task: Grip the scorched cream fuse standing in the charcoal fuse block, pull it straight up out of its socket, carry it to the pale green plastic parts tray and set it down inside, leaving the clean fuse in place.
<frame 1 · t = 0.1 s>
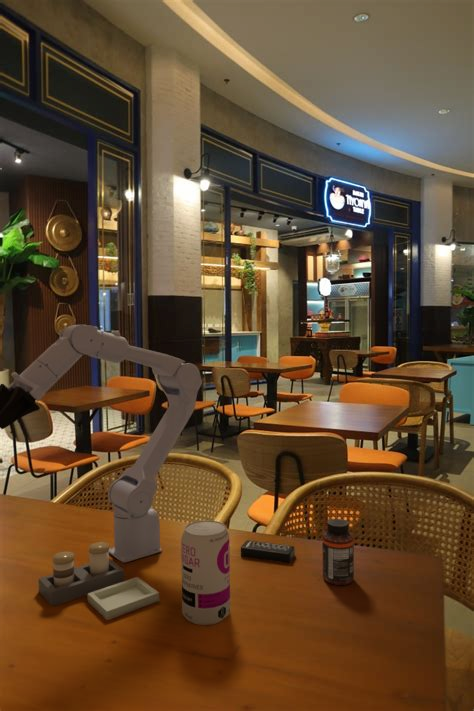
multiport hub: (267, 558, 115), on the table
supplement bottle: (338, 580, 103), on the table
fuse block: (82, 586, 101), on the table
supplement can: (206, 615, 91), on the table
parts tray: (123, 601, 96), on the table
blown fuse: (64, 592, 99), resting in fuse block
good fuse: (99, 581, 104), resting in fuse block
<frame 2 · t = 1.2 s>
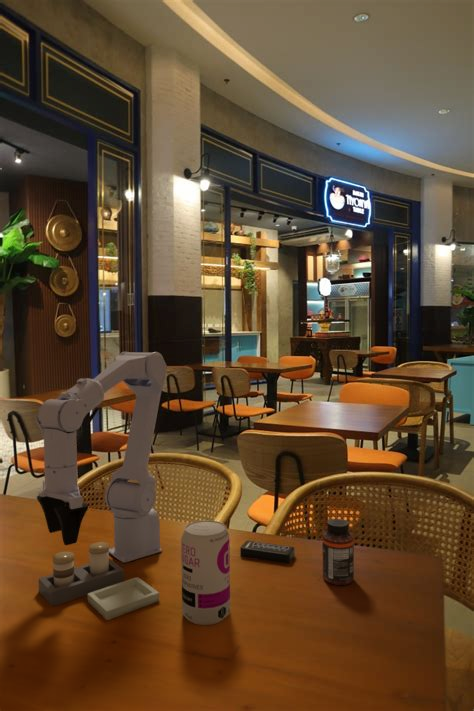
hand: (62, 537, 99), 10 cm above the table, tool pointing down, fingers open, 7 cm apart
nothing on the table moved.
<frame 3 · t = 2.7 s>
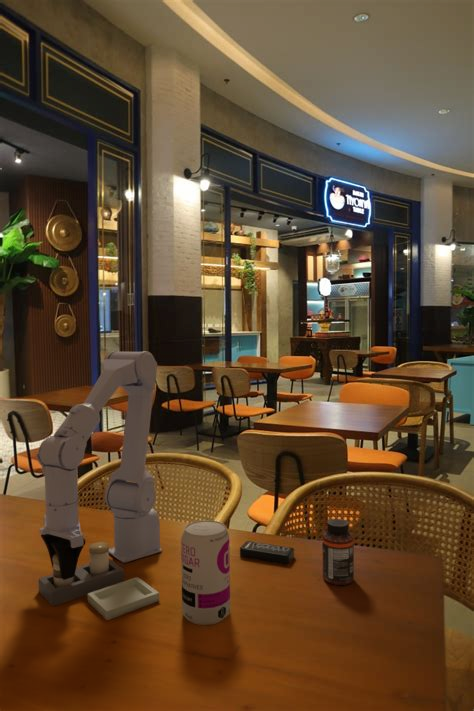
hand: (63, 573, 99), 4 cm above the table, tool pointing down, fingers closed on blown fuse, 4 cm apart
blown fuse: (64, 592, 99), resting in fuse block, touching gripper
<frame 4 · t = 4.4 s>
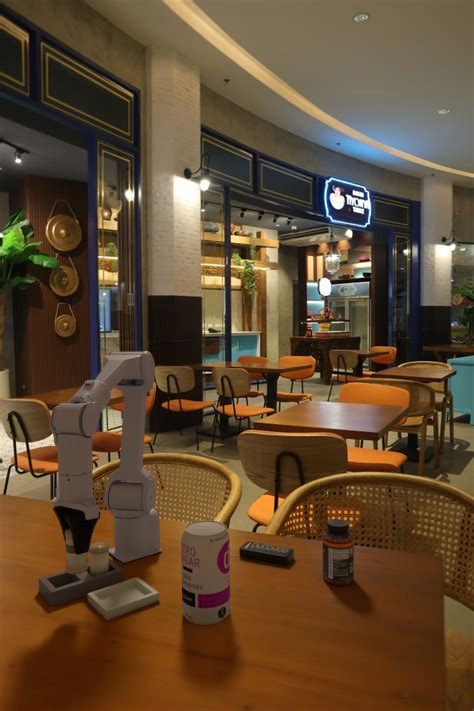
hand: (77, 548, 93), 11 cm above the table, tool pointing down, fingers closed on blown fuse, 4 cm apart
blown fuse: (77, 569, 93), point 7 cm above the table, touching gripper
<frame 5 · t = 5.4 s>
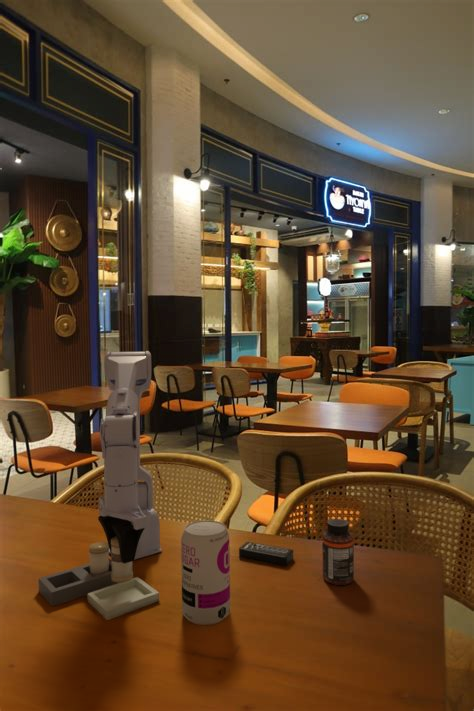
hand: (122, 557, 95), 8 cm above the table, tool pointing down, fingers closed on blown fuse, 4 cm apart
blown fuse: (122, 577, 95), point 4 cm above the table, touching gripper
when the fingers open (5 cm above the table, at t = 6.3 s): blown fuse stays where it is, resting on parts tray.
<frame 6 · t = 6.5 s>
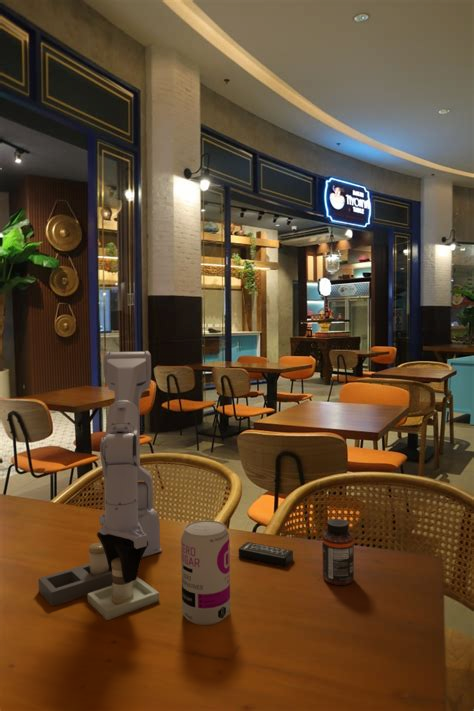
hand: (122, 575, 96), 5 cm above the table, tool pointing down, fingers open, 5 cm apart
blown fuse: (122, 599, 96), resting on parts tray
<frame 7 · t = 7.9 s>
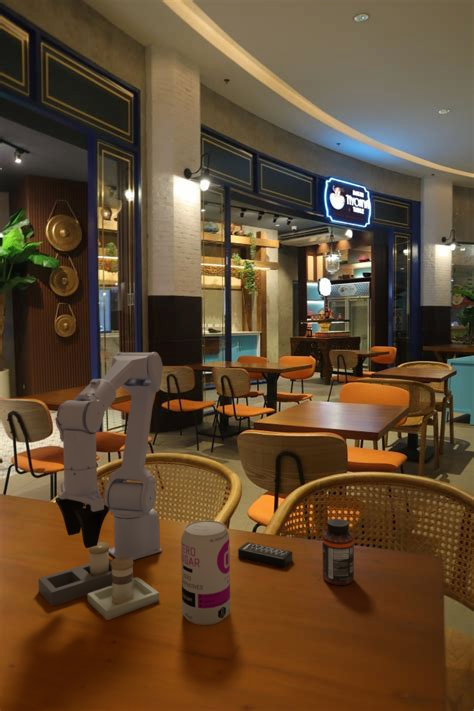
hand: (82, 539, 98), 10 cm above the table, tool pointing down, fingers open, 7 cm apart
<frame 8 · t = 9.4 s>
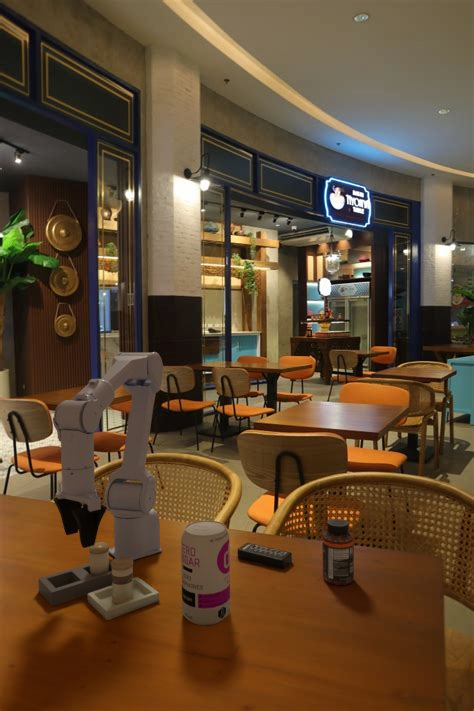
hand: (79, 539, 98), 10 cm above the table, tool pointing down, fingers open, 7 cm apart
at the end: blown fuse inside the target area on the parts tray (0.1 cm from its centre), point 0.4 cm above the parts tray's base; the gripper is holding nothing; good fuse moved 0.0 cm from its start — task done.
